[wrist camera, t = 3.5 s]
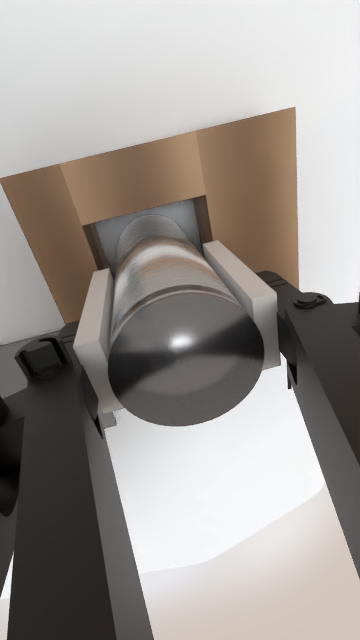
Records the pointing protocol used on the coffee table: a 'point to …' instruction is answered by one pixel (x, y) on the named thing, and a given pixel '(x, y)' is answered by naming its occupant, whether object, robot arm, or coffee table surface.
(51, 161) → the coffee table surface
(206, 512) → the coffee table surface
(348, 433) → the robot arm
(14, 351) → the mat
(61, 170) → the housing
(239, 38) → the coffee table surface
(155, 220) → the shiny metal cylinder
